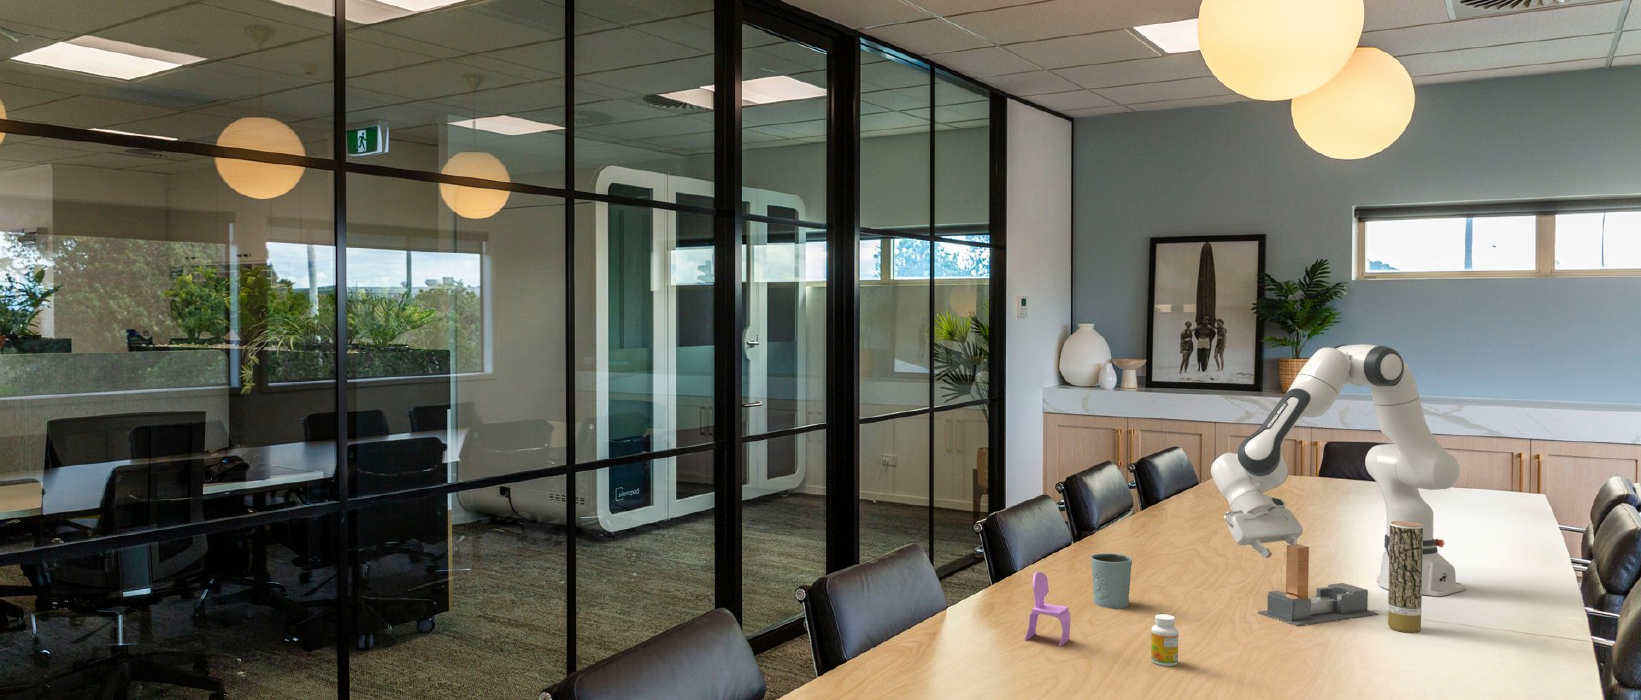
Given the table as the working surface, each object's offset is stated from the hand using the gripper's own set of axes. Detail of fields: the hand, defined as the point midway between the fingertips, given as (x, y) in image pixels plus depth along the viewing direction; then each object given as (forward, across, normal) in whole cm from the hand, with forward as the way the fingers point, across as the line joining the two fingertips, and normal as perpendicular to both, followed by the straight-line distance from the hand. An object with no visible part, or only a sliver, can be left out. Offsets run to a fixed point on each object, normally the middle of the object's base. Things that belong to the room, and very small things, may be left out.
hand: (1282, 554), depth 256 cm
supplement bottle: (+24, -55, -5) cm, 60 cm away
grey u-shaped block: (+14, +15, +7) cm, 21 cm away
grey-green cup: (-5, -36, +25) cm, 44 cm away
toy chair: (+9, -69, +11) cm, 70 cm away
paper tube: (+26, +15, -5) cm, 30 cm away
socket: (+14, -3, +7) cm, 15 cm away
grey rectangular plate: (+14, +7, +7) cm, 16 cm away
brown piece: (+13, +4, +6) cm, 15 cm away
